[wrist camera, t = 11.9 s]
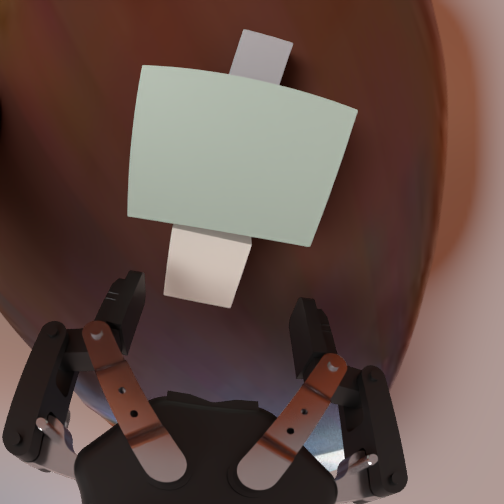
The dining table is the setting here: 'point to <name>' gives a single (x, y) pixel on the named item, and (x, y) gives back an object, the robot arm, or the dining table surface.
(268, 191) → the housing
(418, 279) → the dining table surface
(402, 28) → the dining table surface
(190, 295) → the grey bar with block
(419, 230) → the dining table surface
